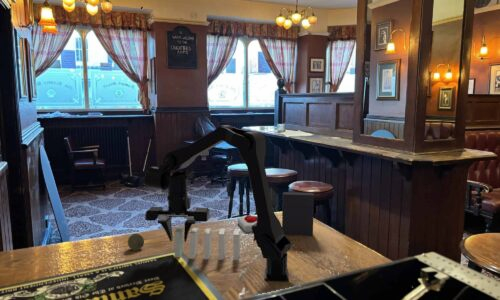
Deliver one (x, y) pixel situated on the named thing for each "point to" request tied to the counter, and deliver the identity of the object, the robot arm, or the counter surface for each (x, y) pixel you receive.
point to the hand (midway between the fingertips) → (178, 241)
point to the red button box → (247, 222)
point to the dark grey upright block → (297, 213)
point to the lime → (135, 241)
